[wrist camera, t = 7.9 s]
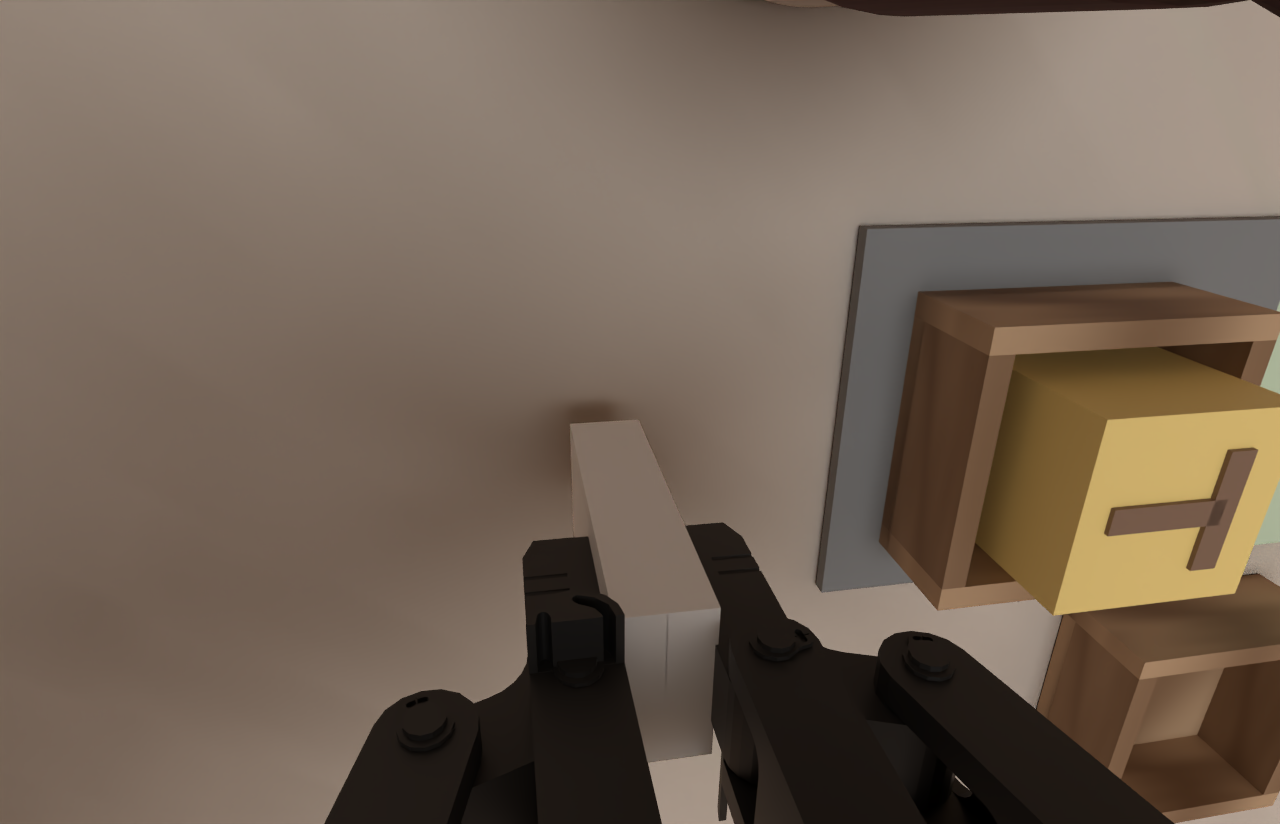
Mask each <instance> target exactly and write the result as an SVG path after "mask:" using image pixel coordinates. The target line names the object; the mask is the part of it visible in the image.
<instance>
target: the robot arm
mask: <svg viewBox="0 0 1280 824" xmlns="http://www.w3.org/2000/svg"><path fill="white" fill-rule="evenodd" d="M570 443H571V477H572V510H573V534H574V538H562V539H551V540H540V541H533V542H532V544H531V546H530V547H529V549H528V550H527V552H526V554H525V555H524V557H523V576H524V593H525V610H526V634H527V650H528V657H527V664H526V666H525V668H524V670H523V672H522V674H521V675H520V676H519V677H518V678H517V680H516V681H515V682H514V683H513V684H511V685H510V686H509V687H507V688H506V689H505V690H503V691H502V692H500V693H498V694H496V695H494V696H492V697H489V698H487V699H484V700H482V701H479V702H477V703H474V704H473V702H471V701H470V700H469V699H467V698H466V697H464V696H463V695H461V694H460V693H456V692H452V691H447V690H442V689H440V690H429V691H421V692H418V693H415V694H413V695H410V696H407V697H404V698H402V699H400V700H399V701H398V702H396V703H395V704H393V705H392V706H390V707H389V708H388V709H386V710H385V711H384V712H383V714H382V715H381V716H380V718H379V719H378V720H377V722H376V723H375V724H374V726H373V728H372V730H371V732H370V734H369V736H368V738H367V740H366V742H365V744H364V746H363V748H362V750H361V752H360V754H359V756H358V758H357V760H356V762H355V764H354V766H353V768H352V770H351V772H350V774H349V776H348V778H347V780H346V782H345V784H344V786H343V788H342V790H341V792H340V793H339V795H338V797H337V799H336V801H335V803H334V805H333V807H332V809H331V811H330V813H329V815H328V817H327V819H326V821H325V823H324V824H662V823H661V818H660V814H659V810H658V805H657V801H656V797H655V792H654V788H653V784H652V779H651V775H650V771H649V766H648V762H655V761H663V760H670V759H677V758H684V757H691V756H698V755H705V754H712V739H713V728H714V731H715V734H716V737H717V740H718V743H719V746H720V749H721V752H722V753H721V767H720V781H719V795H718V817H719V821H723V820H726V815H727V803H728V806H729V809H730V812H731V815H732V818H733V821H734V824H1174V823H1173V822H1172V821H1171V820H1170V819H1168V818H1167V817H1166V816H1165V815H1163V814H1162V813H1161V812H1160V811H1159V810H1157V809H1156V808H1155V807H1154V806H1153V805H1151V804H1150V803H1149V802H1148V801H1146V800H1145V799H1144V798H1143V797H1142V796H1140V795H1139V794H1138V793H1137V792H1136V791H1134V790H1133V789H1132V788H1131V787H1129V786H1128V785H1127V784H1126V783H1125V782H1123V781H1122V780H1121V779H1120V778H1119V777H1117V776H1116V775H1115V774H1114V773H1112V772H1111V771H1110V770H1109V769H1108V768H1106V767H1105V766H1104V765H1103V764H1102V763H1100V762H1099V761H1098V760H1097V759H1095V758H1094V757H1093V756H1092V755H1091V754H1089V753H1088V752H1087V751H1086V750H1085V749H1083V748H1082V747H1081V746H1080V745H1078V744H1077V743H1076V742H1075V741H1074V740H1072V739H1071V738H1070V737H1069V736H1068V735H1066V734H1065V733H1064V732H1063V731H1061V730H1060V729H1059V728H1058V727H1057V726H1055V725H1054V724H1053V723H1052V722H1051V721H1049V720H1048V719H1047V718H1046V717H1044V716H1043V715H1042V714H1041V713H1040V712H1038V711H1037V710H1036V709H1035V708H1034V707H1032V706H1031V705H1030V704H1029V703H1027V702H1026V701H1025V700H1024V699H1023V698H1021V697H1020V696H1019V695H1018V694H1017V693H1015V692H1014V691H1013V690H1012V689H1010V688H1009V687H1008V686H1007V685H1006V684H1004V683H1003V682H1002V681H1001V680H1000V679H998V678H997V677H996V676H995V675H993V674H992V673H991V672H990V671H989V670H987V669H986V668H985V667H984V666H983V665H981V664H980V663H979V662H978V661H976V660H975V659H974V658H973V657H972V656H970V655H969V654H968V653H967V652H966V651H964V650H963V649H961V648H960V647H958V646H957V645H955V644H954V643H952V642H950V641H949V640H947V639H944V638H941V637H938V636H936V635H933V634H930V633H923V632H915V631H908V632H901V633H895V634H893V635H892V636H890V637H888V638H887V639H885V640H884V641H883V643H882V645H881V647H880V649H879V651H878V657H877V656H869V655H861V654H853V653H845V652H840V651H835V650H830V649H827V648H825V647H823V646H822V644H821V643H820V641H819V639H818V638H817V637H816V636H815V635H814V634H813V633H812V632H811V630H810V629H809V628H807V627H805V626H803V625H802V624H800V623H798V622H796V621H795V620H791V619H787V617H786V615H785V613H784V611H783V610H782V608H781V606H780V604H779V602H778V601H777V599H776V597H775V595H774V593H773V592H772V590H771V588H770V586H769V584H768V583H767V581H766V579H765V577H764V575H763V574H762V572H761V571H759V566H758V565H757V563H756V561H755V559H754V557H752V556H751V552H750V550H749V548H748V547H747V545H746V543H745V541H744V539H743V538H742V536H741V535H739V534H738V533H737V532H735V531H734V530H732V529H731V528H730V527H728V526H727V525H726V524H724V523H711V524H700V525H688V526H685V525H684V522H683V520H682V518H681V516H680V513H679V511H678V509H677V506H676V504H675V502H674V499H673V497H672V495H671V493H670V490H669V488H668V486H667V483H666V481H665V479H664V477H663V474H662V472H661V470H660V467H659V465H658V463H657V461H656V458H655V456H654V454H653V451H652V449H651V447H650V445H649V442H648V440H647V438H646V435H645V433H644V431H643V428H642V426H641V424H640V422H639V420H623V421H607V422H591V423H575V424H570ZM955 775H956V776H957V777H958V778H959V779H960V780H961V781H962V782H963V783H964V784H965V785H966V786H967V787H968V788H969V790H968V789H967V788H966V787H965V786H963V785H962V784H961V783H960V782H959V781H958V780H957V779H956V778H955Z"/></svg>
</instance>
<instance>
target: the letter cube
mask: <svg viewBox="0 0 1280 824" xmlns="http://www.w3.org/2000/svg"><path fill="white" fill-rule="evenodd" d="M1279 480H1280V394H1278V393H1276V392H1273V391H1271V390H1268V389H1265V388H1263V387H1260V386H1258V385H1255V384H1252V383H1250V382H1247V381H1245V380H1242V379H1239V378H1237V377H1234V376H1232V375H1229V374H1226V373H1224V372H1221V371H1219V370H1216V369H1213V368H1211V367H1208V366H1206V365H1203V364H1200V363H1198V362H1195V361H1193V360H1190V359H1187V358H1185V357H1182V356H1179V355H1177V354H1174V353H1172V352H1169V351H1166V350H1164V349H1161V348H1159V347H1141V348H1123V349H1105V350H1087V351H1069V352H1051V353H1033V354H1016V355H1015V360H1014V364H1013V369H1012V374H1011V378H1010V383H1009V387H1008V392H1007V397H1006V401H1005V406H1004V410H1003V415H1002V420H1001V424H1000V429H999V433H998V438H997V443H996V447H995V452H994V456H993V461H992V466H991V470H990V475H989V479H988V484H987V489H986V493H985V498H984V502H983V507H982V512H981V516H980V521H979V525H978V530H977V535H976V539H975V543H976V544H977V545H978V546H979V547H980V548H981V549H983V550H984V551H985V552H986V553H987V554H988V555H989V556H990V557H991V558H992V559H993V560H994V561H995V562H996V563H997V564H999V565H1000V566H1001V567H1002V568H1003V569H1004V570H1005V571H1006V572H1007V573H1008V574H1009V575H1010V576H1011V577H1012V578H1014V579H1015V580H1016V581H1017V582H1018V583H1019V584H1020V585H1021V586H1022V587H1023V588H1024V589H1025V590H1026V591H1027V592H1028V593H1030V594H1031V595H1032V596H1033V597H1034V598H1035V599H1036V600H1037V601H1038V602H1039V603H1040V604H1041V605H1042V606H1043V607H1045V608H1046V609H1047V610H1048V611H1049V612H1050V613H1051V614H1052V615H1053V616H1054V615H1062V614H1070V613H1078V612H1087V611H1095V610H1103V609H1111V608H1119V607H1128V606H1136V605H1144V604H1152V603H1160V602H1169V601H1177V600H1185V599H1193V598H1201V597H1210V596H1218V595H1226V594H1234V593H1235V592H1236V589H1237V587H1238V584H1239V582H1240V579H1241V577H1242V574H1243V572H1244V569H1245V566H1246V564H1247V561H1248V559H1249V556H1250V554H1251V551H1252V549H1253V546H1254V543H1255V541H1256V538H1257V536H1258V533H1259V531H1260V528H1261V526H1262V523H1263V520H1264V518H1265V515H1266V513H1267V510H1268V508H1269V505H1270V503H1271V500H1272V497H1273V495H1274V492H1275V490H1276V487H1277V485H1278V482H1279Z"/></svg>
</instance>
